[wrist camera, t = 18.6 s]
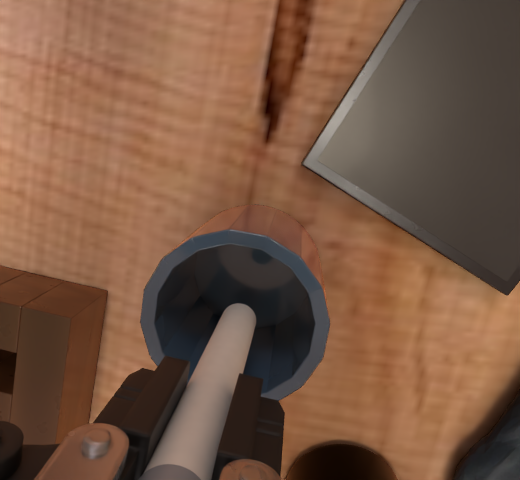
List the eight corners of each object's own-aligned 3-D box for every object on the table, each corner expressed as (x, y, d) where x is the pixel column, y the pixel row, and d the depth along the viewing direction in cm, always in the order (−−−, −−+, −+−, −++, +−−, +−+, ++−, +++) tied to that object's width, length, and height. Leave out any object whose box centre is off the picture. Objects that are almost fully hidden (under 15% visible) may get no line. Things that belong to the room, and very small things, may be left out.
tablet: (300, 163, 25) (300, 164, 24) (531, -199, 21) (542, -216, 20) (500, 291, 26) (508, 297, 25) (764, -39, 21) (786, -48, 20)
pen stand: (-30, 443, 31) (-85, 493, 26) (-15, 262, 28) (-74, 284, 24) (81, 471, 30) (44, 526, 26) (107, 290, 28) (71, 318, 23)
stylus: (218, 332, 20) (106, 569, 9) (225, 298, 20) (118, 496, 8) (253, 340, 20) (188, 591, 8) (260, 307, 20) (204, 517, 8)
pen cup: (164, 288, 27) (109, 347, 19) (231, 178, 26) (199, 193, 18) (274, 357, 28) (263, 441, 20) (347, 251, 26) (366, 298, 18)
